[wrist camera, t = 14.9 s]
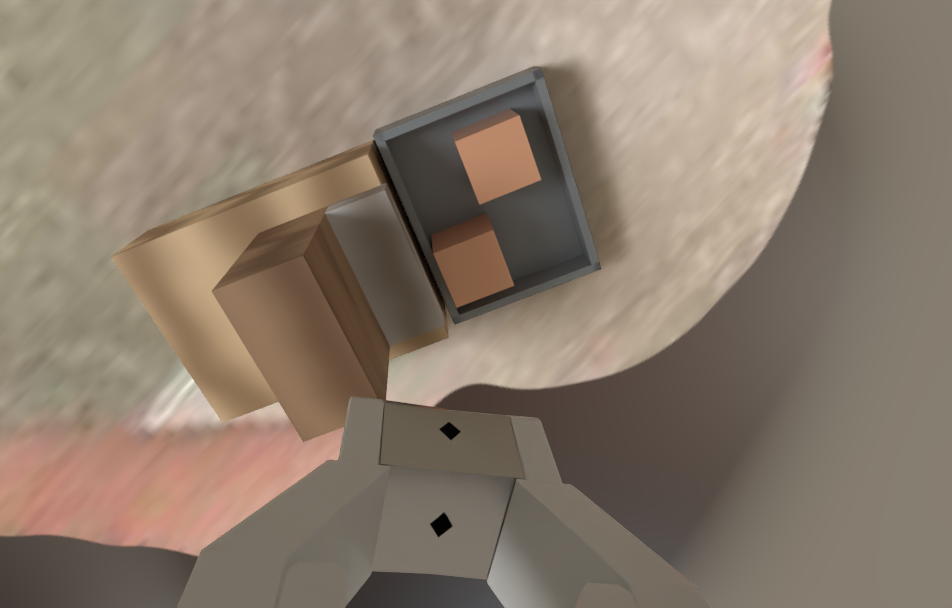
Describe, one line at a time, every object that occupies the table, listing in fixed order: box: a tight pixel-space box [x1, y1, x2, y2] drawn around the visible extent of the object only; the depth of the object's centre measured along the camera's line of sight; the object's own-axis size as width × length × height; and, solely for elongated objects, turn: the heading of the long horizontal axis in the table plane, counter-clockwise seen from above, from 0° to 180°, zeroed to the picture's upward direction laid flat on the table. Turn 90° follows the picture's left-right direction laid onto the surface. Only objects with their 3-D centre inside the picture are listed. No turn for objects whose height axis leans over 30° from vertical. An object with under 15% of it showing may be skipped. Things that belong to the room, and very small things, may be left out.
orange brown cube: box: [431, 213, 514, 308], centre depth 45 cm, size 4×4×4 cm
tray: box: [373, 67, 601, 324], centre depth 44 cm, size 12×15×3 cm
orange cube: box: [451, 108, 541, 205], centre depth 42 cm, size 4×4×4 cm
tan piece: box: [111, 141, 449, 423], centre depth 44 cm, size 18×14×6 cm
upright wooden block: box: [212, 183, 444, 442], centre depth 36 cm, size 9×10×10 cm
